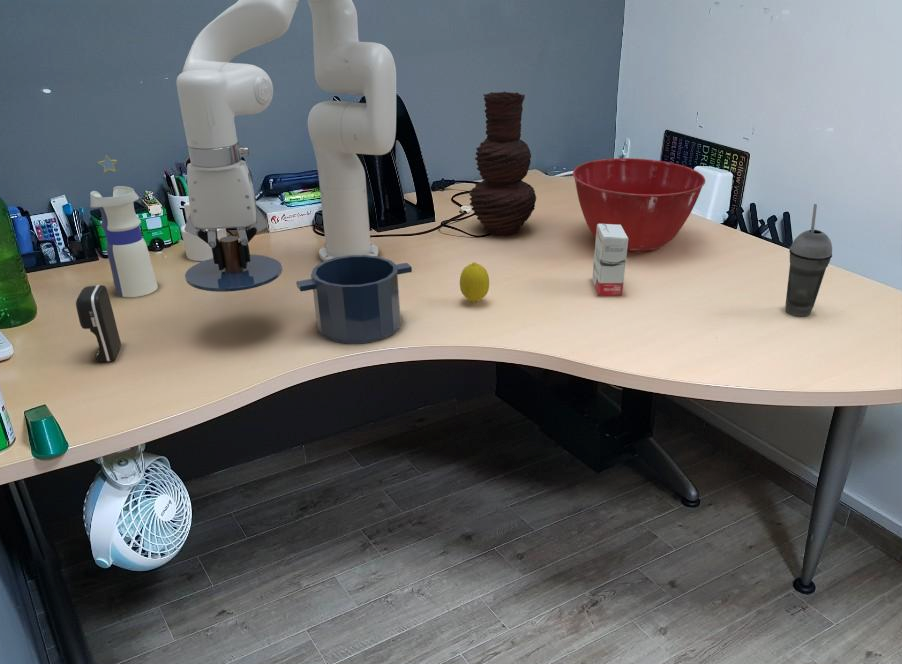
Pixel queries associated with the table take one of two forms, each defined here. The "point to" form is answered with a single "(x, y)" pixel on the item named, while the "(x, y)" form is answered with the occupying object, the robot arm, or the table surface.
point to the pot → (356, 298)
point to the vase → (503, 168)
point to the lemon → (474, 282)
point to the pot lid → (233, 270)
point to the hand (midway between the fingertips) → (233, 265)
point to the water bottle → (124, 240)
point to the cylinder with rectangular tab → (198, 242)
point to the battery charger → (99, 320)
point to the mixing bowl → (638, 198)
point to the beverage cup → (807, 269)
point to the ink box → (609, 259)
